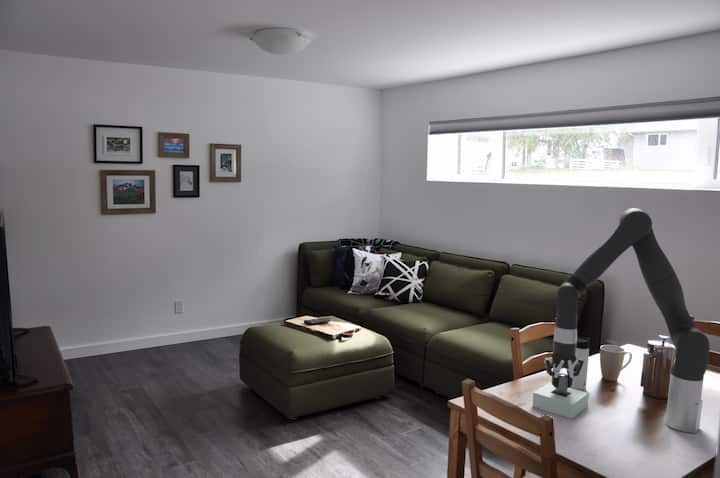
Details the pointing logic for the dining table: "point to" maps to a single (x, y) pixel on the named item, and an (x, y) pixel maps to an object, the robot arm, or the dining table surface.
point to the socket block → (560, 401)
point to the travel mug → (583, 354)
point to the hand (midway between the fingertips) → (561, 386)
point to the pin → (562, 385)
